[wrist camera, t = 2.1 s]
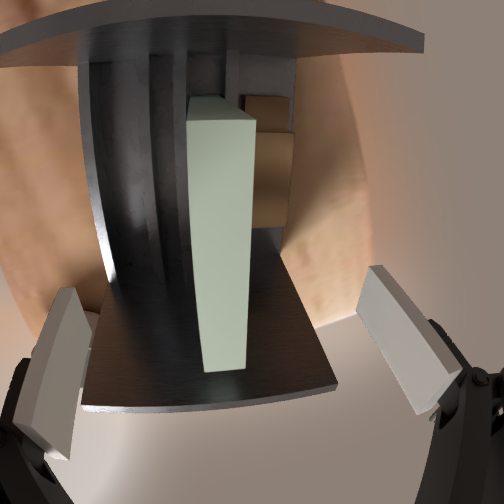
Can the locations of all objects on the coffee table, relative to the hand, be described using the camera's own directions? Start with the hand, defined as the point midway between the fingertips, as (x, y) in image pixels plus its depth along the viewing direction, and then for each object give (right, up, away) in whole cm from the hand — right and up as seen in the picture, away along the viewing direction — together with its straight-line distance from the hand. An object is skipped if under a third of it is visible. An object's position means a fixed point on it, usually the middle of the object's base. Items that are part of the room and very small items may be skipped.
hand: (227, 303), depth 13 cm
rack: (-5, +11, +17) cm, 21 cm away
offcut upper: (+2, +9, +15) cm, 18 cm away
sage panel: (-4, +10, +16) cm, 19 cm away
